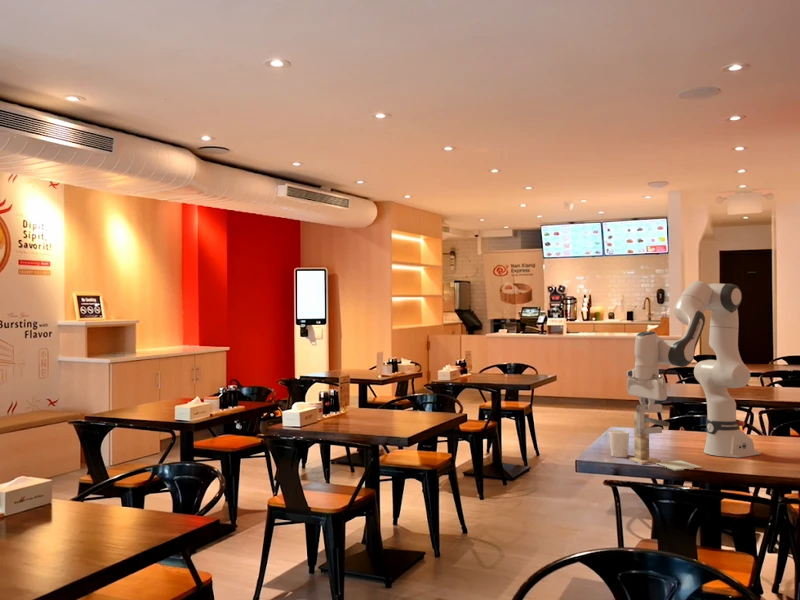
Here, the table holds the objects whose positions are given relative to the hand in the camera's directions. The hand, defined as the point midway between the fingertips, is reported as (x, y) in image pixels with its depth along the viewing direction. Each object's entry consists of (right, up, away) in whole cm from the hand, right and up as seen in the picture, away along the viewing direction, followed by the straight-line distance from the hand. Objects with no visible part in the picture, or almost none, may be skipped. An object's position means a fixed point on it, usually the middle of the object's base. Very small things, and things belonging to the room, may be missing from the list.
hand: (646, 409), depth 275 cm
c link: (+1, -9, 0) cm, 9 cm away
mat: (+13, -22, +2) cm, 26 cm away
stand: (+4, -22, +5) cm, 23 cm away
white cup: (-4, -23, +22) cm, 32 cm away
